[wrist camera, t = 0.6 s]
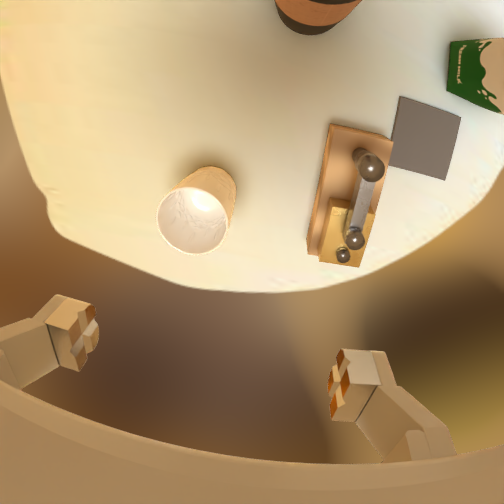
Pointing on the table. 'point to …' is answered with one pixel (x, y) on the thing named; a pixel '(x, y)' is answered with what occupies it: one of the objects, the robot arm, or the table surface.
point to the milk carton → (478, 72)
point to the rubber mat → (423, 138)
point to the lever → (362, 197)
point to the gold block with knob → (340, 235)
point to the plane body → (344, 173)
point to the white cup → (197, 211)
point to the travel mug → (313, 14)
